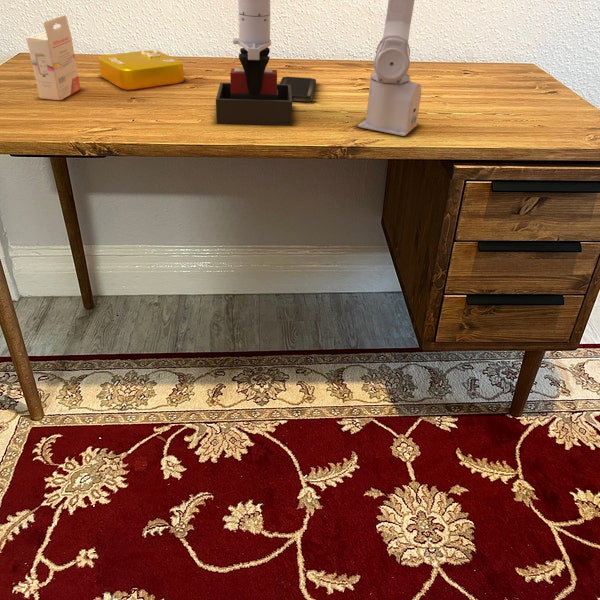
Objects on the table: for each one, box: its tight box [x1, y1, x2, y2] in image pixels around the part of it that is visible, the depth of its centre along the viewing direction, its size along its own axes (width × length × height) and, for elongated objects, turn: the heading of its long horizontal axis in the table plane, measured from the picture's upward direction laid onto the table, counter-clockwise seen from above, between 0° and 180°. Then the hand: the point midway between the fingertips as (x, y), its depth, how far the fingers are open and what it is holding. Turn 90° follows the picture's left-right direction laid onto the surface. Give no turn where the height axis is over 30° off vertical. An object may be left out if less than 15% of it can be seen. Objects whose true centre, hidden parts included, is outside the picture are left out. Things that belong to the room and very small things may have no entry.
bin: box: [215, 82, 293, 126], centre depth 116 cm, size 14×12×4 cm
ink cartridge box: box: [25, 14, 81, 101], centre depth 120 cm, size 9×5×15 cm, turn 168°
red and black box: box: [229, 67, 278, 100], centre depth 114 cm, size 9×3×5 cm, turn 92°
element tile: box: [98, 49, 185, 91], centre depth 134 cm, size 15×15×5 cm
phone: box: [279, 76, 317, 103], centre depth 131 cm, size 8×1×15 cm
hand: (254, 90), depth 115 cm, fingers closed on red and black box, 3 cm apart
